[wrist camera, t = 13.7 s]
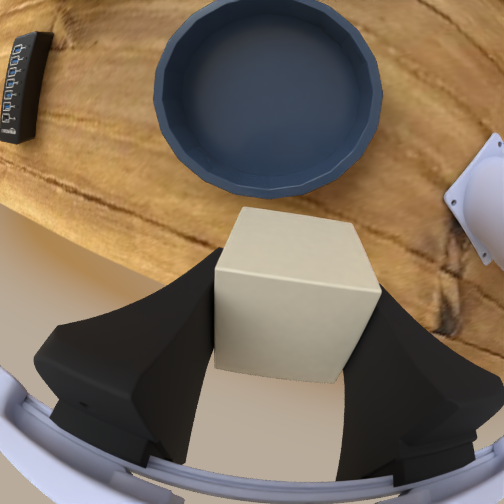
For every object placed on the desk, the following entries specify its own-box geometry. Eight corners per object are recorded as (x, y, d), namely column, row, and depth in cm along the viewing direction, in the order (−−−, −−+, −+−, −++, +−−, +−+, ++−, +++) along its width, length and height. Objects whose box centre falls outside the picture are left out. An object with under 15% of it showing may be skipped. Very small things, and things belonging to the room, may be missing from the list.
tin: (373, 28, 11) (390, 14, 8) (347, 196, 18) (358, 215, 15) (186, 10, 12) (166, -6, 9) (172, 172, 18) (151, 186, 15)
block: (352, 222, 10) (383, 291, 6) (326, 306, 12) (334, 384, 9) (242, 205, 10) (214, 267, 7) (235, 293, 13) (213, 369, 9)
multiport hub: (54, 31, 12) (37, 30, 10) (34, 139, 18) (18, 145, 16) (30, 37, 12) (14, 37, 10) (14, 135, 17) (-2, 141, 15)
